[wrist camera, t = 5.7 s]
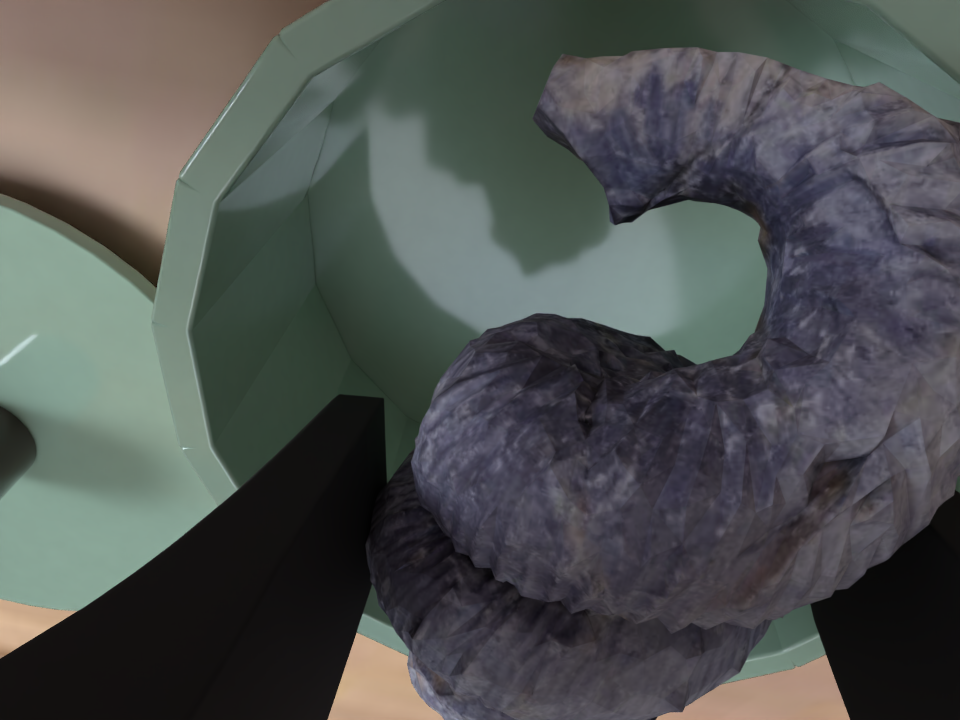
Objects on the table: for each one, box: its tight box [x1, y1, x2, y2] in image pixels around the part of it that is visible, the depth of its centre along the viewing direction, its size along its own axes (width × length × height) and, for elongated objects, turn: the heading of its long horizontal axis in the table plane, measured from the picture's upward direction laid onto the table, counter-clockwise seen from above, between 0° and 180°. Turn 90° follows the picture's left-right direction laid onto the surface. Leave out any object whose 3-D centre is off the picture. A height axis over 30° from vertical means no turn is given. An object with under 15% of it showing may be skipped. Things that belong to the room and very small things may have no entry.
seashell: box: [365, 47, 960, 720], centre depth 9 cm, size 5×5×10 cm
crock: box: [151, 0, 960, 684], centre depth 13 cm, size 13×13×6 cm
